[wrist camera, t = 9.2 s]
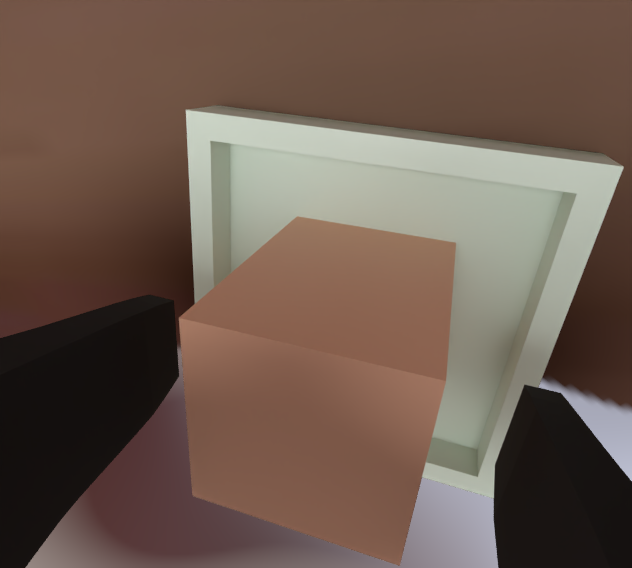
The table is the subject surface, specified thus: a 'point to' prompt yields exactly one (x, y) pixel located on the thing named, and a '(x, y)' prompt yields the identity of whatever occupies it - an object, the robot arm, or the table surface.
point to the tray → (424, 221)
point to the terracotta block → (321, 381)
